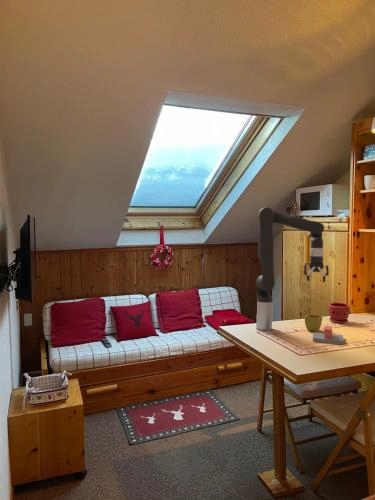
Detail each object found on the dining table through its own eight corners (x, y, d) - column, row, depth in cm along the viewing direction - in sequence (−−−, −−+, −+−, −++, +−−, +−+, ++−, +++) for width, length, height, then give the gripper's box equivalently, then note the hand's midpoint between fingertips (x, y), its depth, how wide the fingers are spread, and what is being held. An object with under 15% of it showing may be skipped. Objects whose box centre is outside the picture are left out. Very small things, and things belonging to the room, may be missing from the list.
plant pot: (324, 320, 270) (324, 303, 269) (340, 319, 274) (341, 301, 273) (336, 325, 258) (337, 306, 257) (353, 323, 262) (354, 305, 261)
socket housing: (324, 338, 221) (324, 329, 221) (324, 334, 229) (324, 325, 229) (331, 338, 220) (332, 329, 220) (331, 334, 228) (331, 326, 227)
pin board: (312, 341, 221) (313, 332, 221) (313, 335, 233) (313, 327, 232) (343, 344, 216) (344, 335, 216) (342, 338, 228) (342, 329, 228)
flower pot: (308, 327, 251) (308, 313, 251) (322, 329, 246) (322, 315, 246) (303, 330, 244) (304, 316, 243) (318, 333, 239) (318, 318, 238)
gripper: (304, 255, 240) (303, 282, 241) (329, 256, 236) (328, 283, 237) (304, 254, 247) (304, 280, 248) (328, 255, 243) (328, 281, 244)
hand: (316, 281), depth 243 cm, fingers open, 8 cm apart
